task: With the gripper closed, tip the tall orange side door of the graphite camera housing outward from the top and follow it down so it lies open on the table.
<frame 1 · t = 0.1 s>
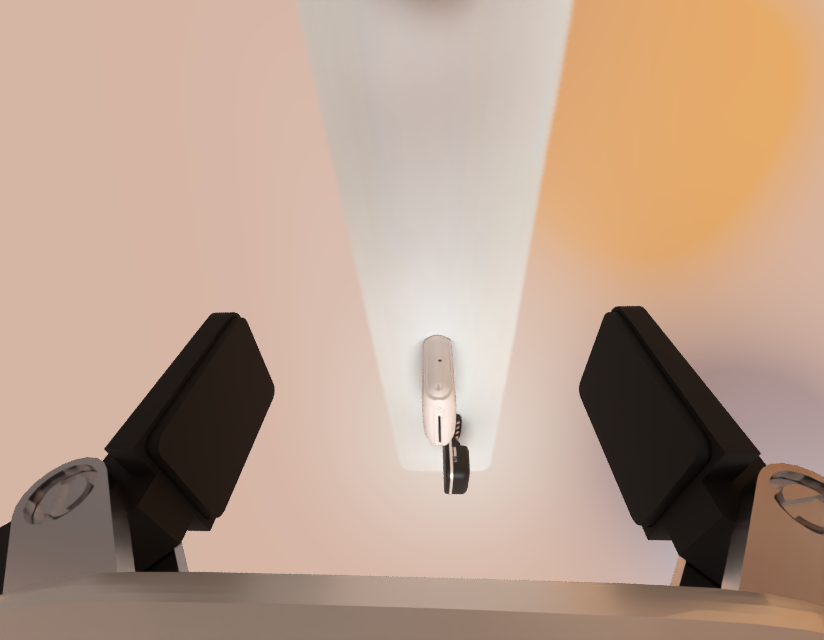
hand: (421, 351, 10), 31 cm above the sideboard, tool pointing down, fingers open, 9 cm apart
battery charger: (453, 423, 63), on the sideboard
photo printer: (437, 359, 54), on the sideboard
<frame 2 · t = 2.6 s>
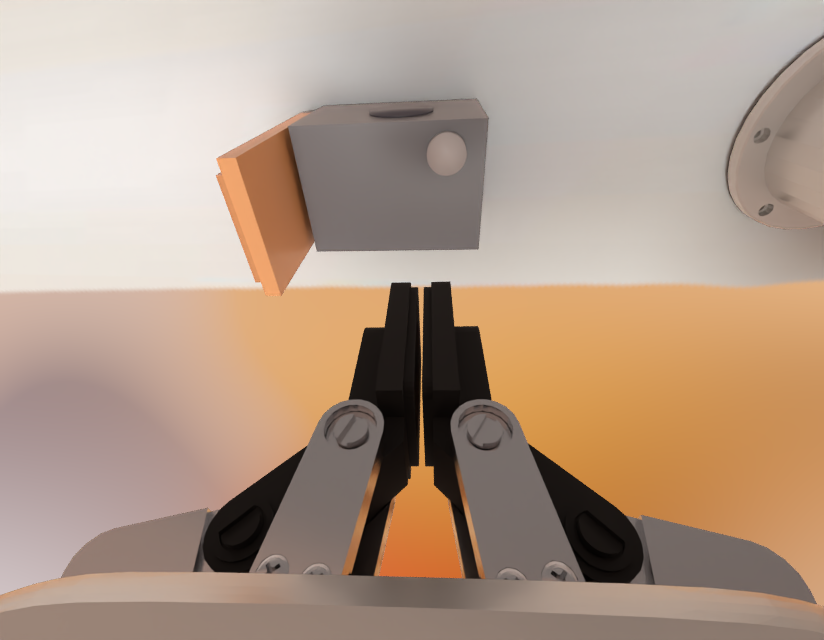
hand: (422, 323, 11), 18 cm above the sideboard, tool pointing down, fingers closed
camera housing: (402, 159, 25), on the sideboard
side door: (290, 192, 21), point 6 cm above the sideboard, hinge at 0.0°
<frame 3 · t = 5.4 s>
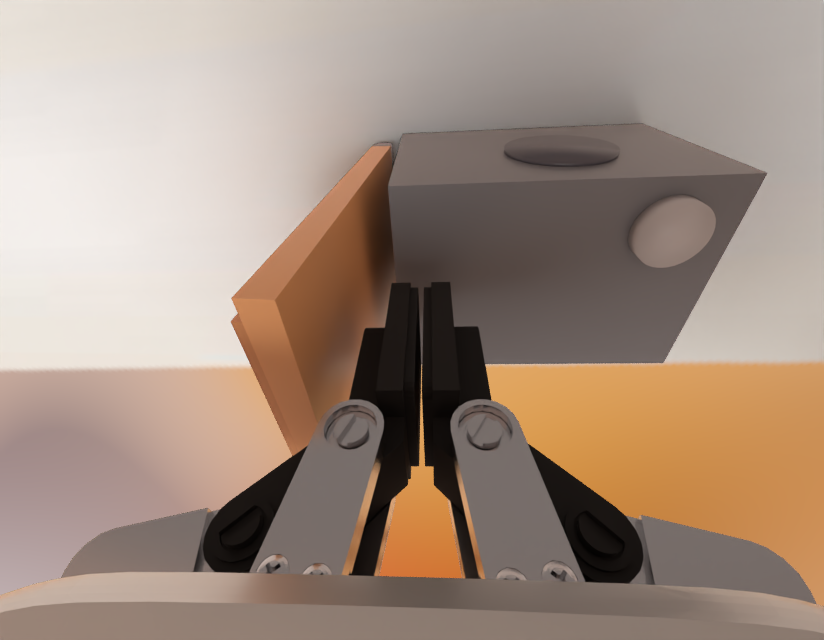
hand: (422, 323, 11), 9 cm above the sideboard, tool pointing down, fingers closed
camera housing: (509, 209, 17), on the sideboard
side door: (355, 281, 13), point 6 cm above the sideboard, hinge at 5.5°, touching gripper
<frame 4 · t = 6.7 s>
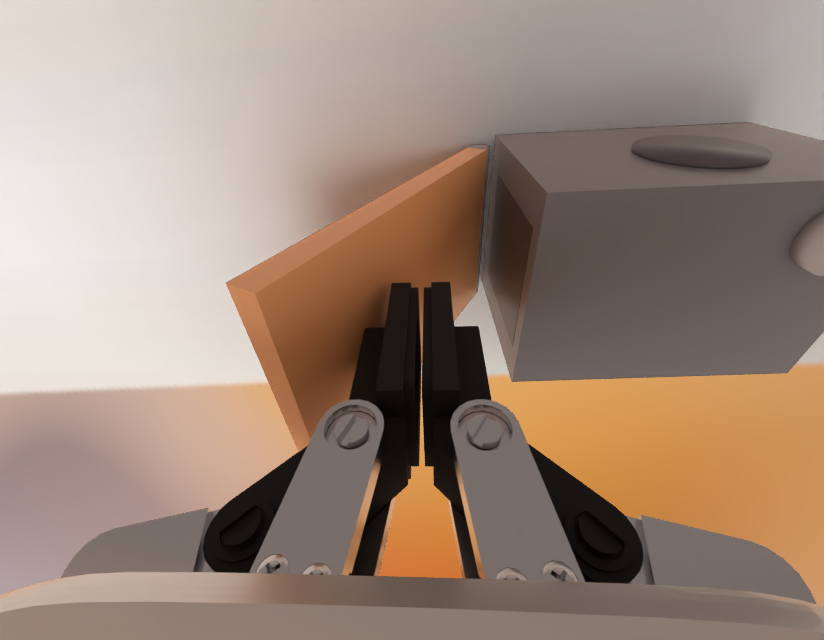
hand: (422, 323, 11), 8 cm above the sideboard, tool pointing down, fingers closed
camera housing: (596, 213, 16), on the sideboard
side door: (407, 284, 12), point 6 cm above the sideboard, hinge at 30.8°, touching gripper
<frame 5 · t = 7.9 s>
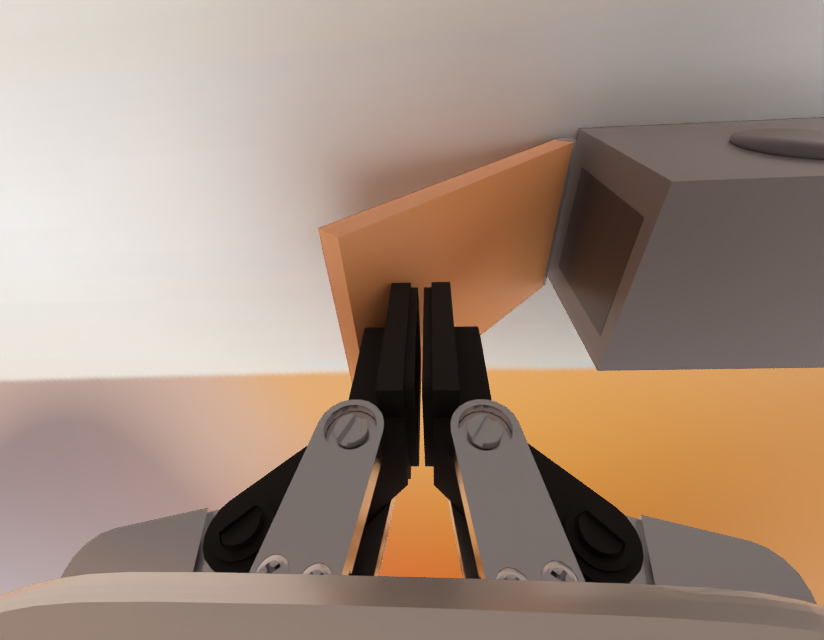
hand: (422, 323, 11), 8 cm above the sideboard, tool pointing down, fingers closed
camera housing: (670, 207, 17), on the sideboard
side door: (471, 263, 13), point 5 cm above the sideboard, hinge at 44.3°, touching gripper
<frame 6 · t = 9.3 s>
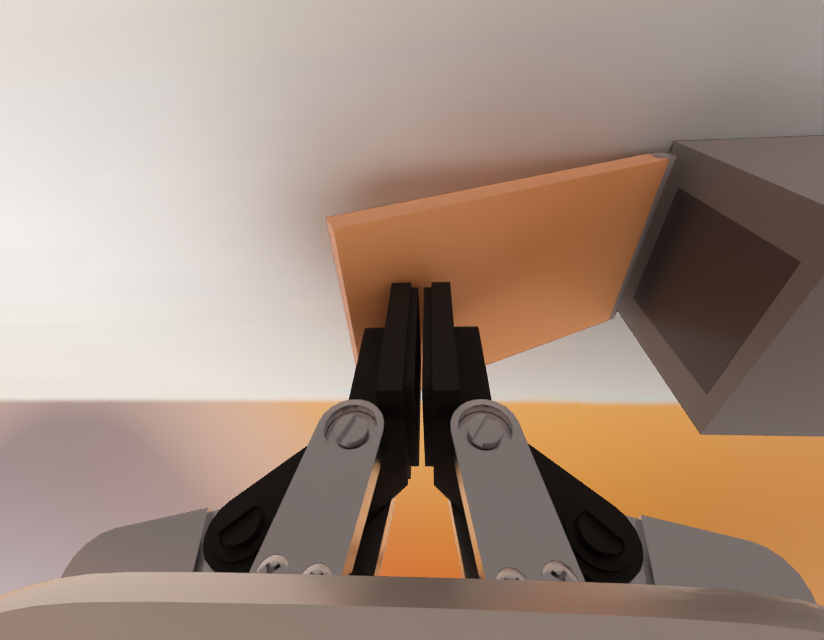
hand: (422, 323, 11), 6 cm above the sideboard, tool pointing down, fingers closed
camera housing: (769, 232, 14), on the sideboard
side door: (509, 277, 12), point 3 cm above the sideboard, hinge at 63.9°, touching gripper
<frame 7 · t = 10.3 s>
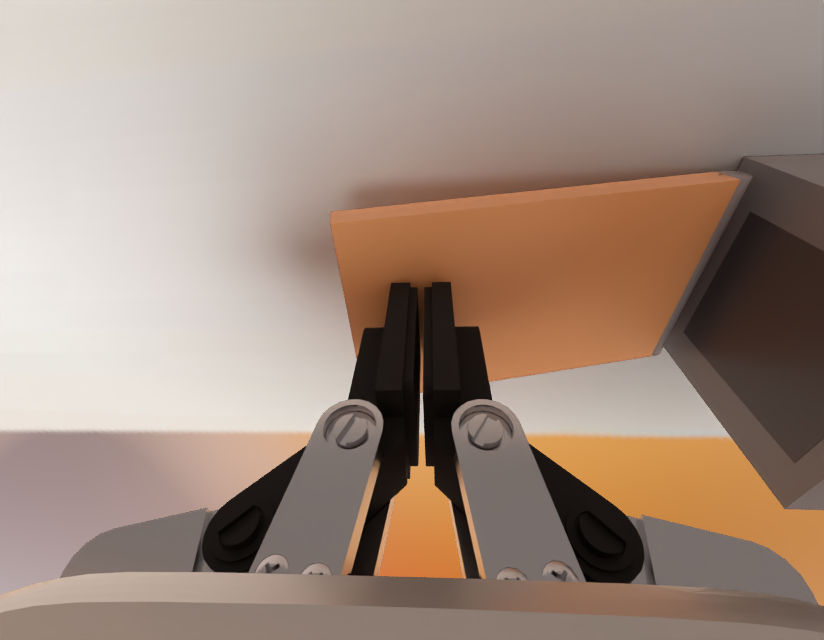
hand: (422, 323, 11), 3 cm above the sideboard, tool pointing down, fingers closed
side door: (528, 293, 12), point 2 cm above the sideboard, hinge at 78.0°, touching gripper
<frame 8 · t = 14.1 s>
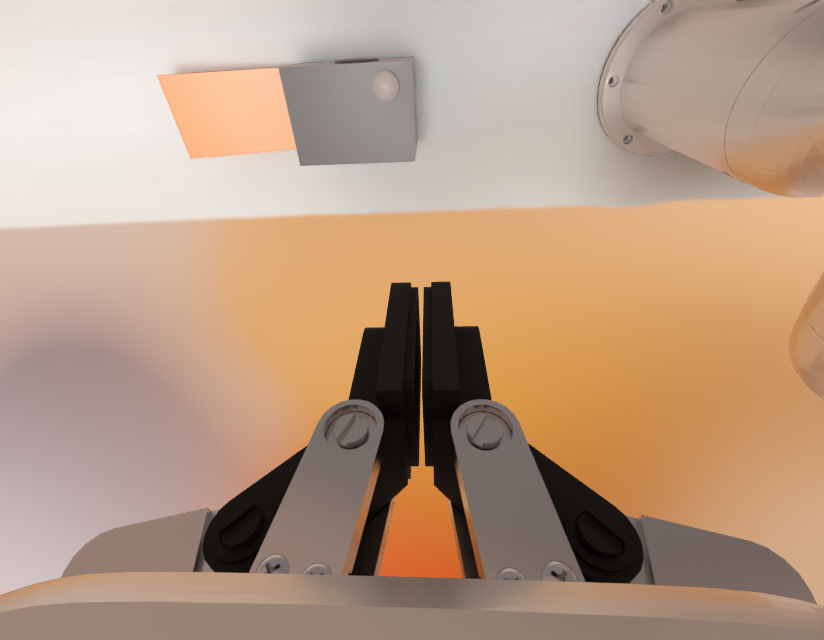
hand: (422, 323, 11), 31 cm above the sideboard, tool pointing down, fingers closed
camera housing: (363, 104, 34), on the sideboard
side door: (242, 113, 33), point 2 cm above the sideboard, hinge at 78.2°
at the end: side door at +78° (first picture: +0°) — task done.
